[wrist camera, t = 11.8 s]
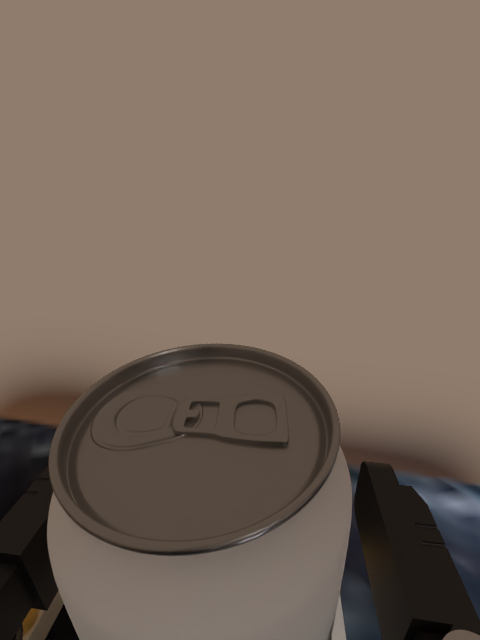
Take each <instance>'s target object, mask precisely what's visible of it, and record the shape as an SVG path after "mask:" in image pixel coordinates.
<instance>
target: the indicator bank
mask: <svg viewBox="0 0 480 640" xmlns="http://www.w3.org/2000/svg"><path fill="white" fill-rule="evenodd" d="M63 604H64V603H63V600H62V597H61V595H60V592H59V590H58V592H57V594H56V596H55V598H54V599H53V601H52V603H51V605H50V607H49V608H48V610H47V611H45V610H39V609H34V608H31V609H30V611H29V613H28V614H27V616H26V618H25V619H24V621H23V623H22V624H23V640H45V638H46V637H47V635H48V633H49V631H50V629H51V627H52V625H53V623H54V621H55V620H56V618H57V616H58V614H59V612H60V610H61V608H62V606H63Z"/></svg>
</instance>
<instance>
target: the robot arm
mask: <svg viewBox="0 0 480 640" xmlns="http://www.w3.org/2000/svg"><path fill="white" fill-rule="evenodd" d="M52 494H53V489H52V485H51V482H50V477H49V465H48V466H47V467H46V468H45V469H44V470H43V472H42V473H41V474H40V475H39V476H38V479H37V480H36V481H34V482H33V483H32V485H31V486H30V487H29V488H28V489H27V492H26V494H23V495H22V496H21V498H20V499H19V500H18V501H17V502H16V503H15V505H14V506H13V507H12V508H11V509H10V511H9V512H8V513H7V514H6V515H5V516H4V518H3V519H2V520H1V521H0V640H23V624H22V623H23V621H24V619H25V618H26V616H27V614H28V613H29V611H30V609H31V608H34V609H39V610H45V611H47V610H48V608H49V607H50V605H51V603H52V601H53V599H54V598H55V596H56V594H57V592H58V587H57V584H56V582H55V578H54V575H53V571H52V567H51V562H50V557H49V552H48V544H47V523H48V514H49V508H50V502H51V498H52ZM354 505H355V516H356V521H357V526H358V530H359V535H360V540H361V544H362V549H363V553H364V558H365V562H366V567H367V572H368V576H369V581H370V585H371V590H372V594H373V599H374V604H375V608H376V613H377V617H378V622H379V626H380V631H381V636H382V640H480V620H479V618H478V616H477V613H476V611H475V609H474V607H473V605H472V602H471V600H470V598H469V596H468V594H467V591H466V589H465V587H464V585H463V583H462V580H461V578H460V576H459V574H458V572H457V569H456V567H455V565H454V563H453V560H452V558H451V556H450V554H449V552H448V549H447V548H445V543H444V541H443V538H442V536H441V534H440V532H439V530H437V525H436V523H435V521H434V519H433V516H432V514H431V512H430V510H429V507H428V505H427V504H426V503H425V501H424V500H423V499H422V498H421V497H420V496H419V494H418V493H417V492H416V491H415V490H414V489H413V488H412V486H404V485H399V483H398V480H397V478H396V475H395V473H394V470H393V468H392V466H391V465H390V464H384V463H373V462H362V464H361V468H360V473H359V477H358V482H357V487H356V492H355V500H354Z"/></svg>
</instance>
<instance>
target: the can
mask: <svg viewBox="0 0 480 640" xmlns="http://www.w3.org/2000/svg"><path fill="white" fill-rule="evenodd" d="M49 477H50V482H51V485H52V489H53V494H52V498H51V502H50V508H49V514H48V523H47V544H48V552H49V557H50V562H51V567H52V571H53V575H54V578H55V582H56V584H57V587H58V590H59V592H60V595H61V597H62V600H63V603H64V605H65V608H66V610H67V612H68V615H69V617H70V619H71V622H72V624H73V626H74V628H75V631H76V633H77V635H78V637H79V640H331V636H332V631H333V626H334V620H335V615H336V609H337V604H338V598H339V593H340V588H341V582H342V577H343V571H344V565H345V559H346V554H347V548H348V541H349V533H350V526H351V517H352V488H351V480H350V474H349V470H348V466H347V463H346V460H345V457H344V454H343V451H342V449H341V446H340V423H339V418H338V414H337V410H336V408H335V405H334V403H333V401H332V399H331V397H330V395H329V394H328V392H327V391H326V389H325V388H324V387H323V385H322V384H321V383H320V382H319V381H318V380H317V379H316V378H315V377H314V376H313V375H312V374H311V373H309V372H308V371H307V370H306V369H304V368H303V367H301V366H300V365H298V364H296V363H295V362H293V361H291V360H289V359H287V358H285V357H282V356H280V355H277V354H275V353H272V352H269V351H266V350H262V349H258V348H253V347H249V346H242V345H233V344H199V345H190V346H183V347H177V348H173V349H168V350H164V351H160V352H157V353H153V354H150V355H147V356H144V357H142V358H139V359H137V360H134V361H132V362H130V363H128V364H126V365H124V366H122V367H120V368H118V369H116V370H114V371H113V372H111V373H109V374H108V375H106V376H105V377H103V378H102V379H100V380H99V381H97V382H96V383H95V384H93V385H92V386H91V387H90V388H89V389H87V390H86V391H85V392H84V393H83V394H82V395H81V396H80V397H79V398H78V399H77V400H76V402H74V404H73V405H72V406H71V407H70V409H69V410H68V411H67V412H66V414H65V415H64V417H63V419H62V420H61V422H60V424H59V425H58V428H57V430H56V432H55V434H54V437H53V440H52V443H51V447H50V452H49Z"/></svg>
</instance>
